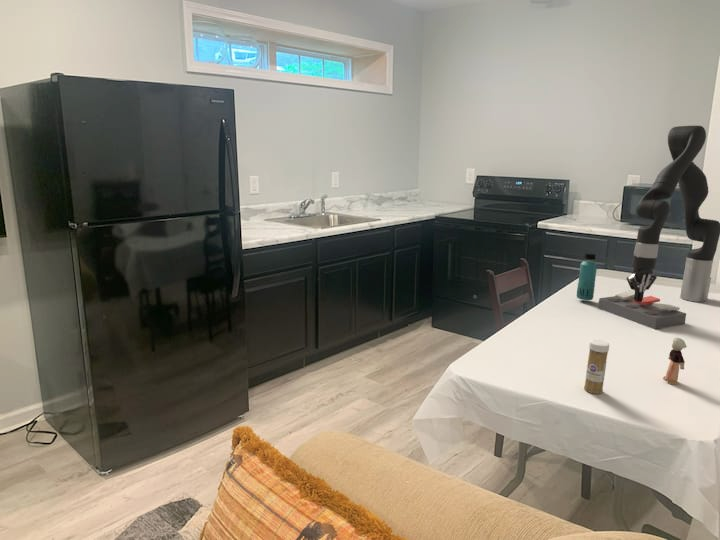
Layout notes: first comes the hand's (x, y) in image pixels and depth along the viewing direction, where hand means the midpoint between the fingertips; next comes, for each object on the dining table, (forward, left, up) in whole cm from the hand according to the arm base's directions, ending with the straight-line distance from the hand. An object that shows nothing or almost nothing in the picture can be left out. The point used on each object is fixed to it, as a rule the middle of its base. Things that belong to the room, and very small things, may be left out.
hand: (637, 301), depth 197 cm
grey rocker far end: (-4, +8, -1) cm, 9 cm away
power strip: (-2, 0, -6) cm, 6 cm away
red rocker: (-4, 0, -1) cm, 5 cm away
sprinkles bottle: (+62, +40, -6) cm, 74 cm away
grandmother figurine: (+38, +44, -6) cm, 58 cm away
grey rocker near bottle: (-4, -8, -1) cm, 9 cm away
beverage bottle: (+4, -21, -6) cm, 22 cm away
